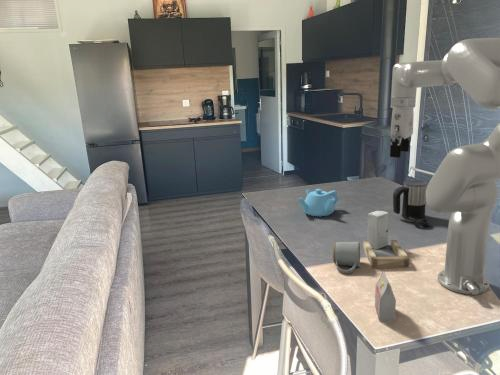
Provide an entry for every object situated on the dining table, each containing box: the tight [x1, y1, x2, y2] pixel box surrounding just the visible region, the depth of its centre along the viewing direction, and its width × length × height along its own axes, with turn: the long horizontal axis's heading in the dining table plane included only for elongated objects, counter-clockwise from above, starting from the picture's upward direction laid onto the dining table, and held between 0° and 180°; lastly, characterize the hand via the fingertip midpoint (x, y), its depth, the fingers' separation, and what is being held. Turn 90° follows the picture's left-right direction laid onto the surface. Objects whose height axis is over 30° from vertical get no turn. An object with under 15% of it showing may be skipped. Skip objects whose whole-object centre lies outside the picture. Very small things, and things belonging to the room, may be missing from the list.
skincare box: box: [367, 209, 390, 250], centre depth 133 cm, size 6×4×12 cm
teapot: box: [297, 188, 339, 218], centre depth 169 cm, size 15×15×11 cm
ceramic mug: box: [332, 241, 361, 275], centre depth 120 cm, size 11×8×8 cm
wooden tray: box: [362, 239, 410, 269], centre depth 125 cm, size 14×11×3 cm
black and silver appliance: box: [392, 179, 431, 227], centre depth 153 cm, size 14×16×15 cm
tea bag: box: [374, 271, 397, 323], centre depth 95 cm, size 4×7×10 cm, turn 171°
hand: (399, 154), depth 129 cm, fingers open, 9 cm apart
